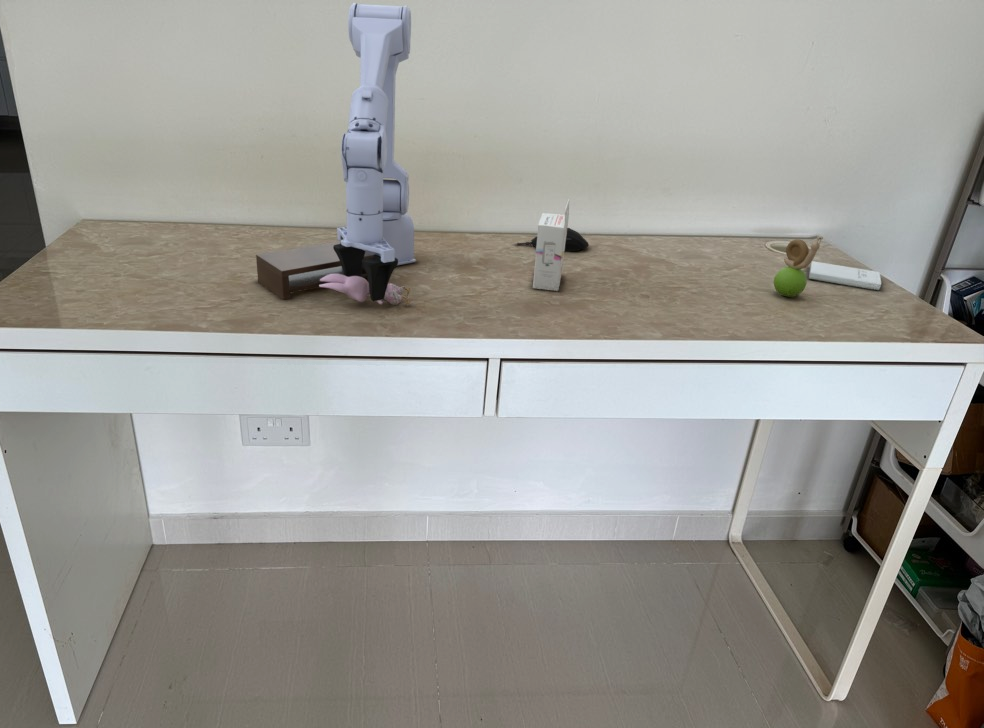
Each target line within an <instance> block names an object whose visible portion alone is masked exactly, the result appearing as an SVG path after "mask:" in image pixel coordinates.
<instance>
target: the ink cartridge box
mask: <svg viewBox="0 0 984 728" xmlns="http://www.w3.org/2000/svg"><path fill="white" fill-rule="evenodd" d="M569 218H570V198H568V199H567V202H566V205H565V208H564V214H559V213H547V212H543V213H542V214H541V216H540V219H539V221H538V224H537V235H536V237H537V246H536V247H535V259H534V268H533V269H534V270H533V281H532V289H535V290H545V291H556V292H559V289H560V286H561V285H560V284H561V278H562V274H563V273H562V272H563V265H564V257H565V252H566V251H565V243H566V235H567V228H568V225H569Z"/></svg>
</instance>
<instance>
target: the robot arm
mask: <svg viewBox="0 0 984 728" xmlns="http://www.w3.org/2000/svg"><path fill="white" fill-rule="evenodd" d="M347 18H348V19H347V27H348V29H347V30H348V31H347V32H348V38H349V42H350V43H351V46H352V49H353V51H354V53H355V56H356V57H358V58H360V64H359V65H360V66H359V67H360V72H359V75H360V76H359V87H357V88H355V90H353V92H352V93H351V98H350V104H349V105H350V107H349V113H348V123H347V130H346V131H347V132H346V133H343V134H342V137H341V142H340V157H341V164H342V171H343V181H344V182H345V200H346V201H345V205H346V207H345V208H346V226H344V227H343V226H342V227H336V239H337V240H338V241H341V242H340V244H336V245H334V246H333V249H334V251H335V252H336V254H337V256H338V258H339V260H340V262H341V265H342V268H343V272H344V275H345V276H347V277H351V276H359V277H361V274H362V264H363V265H364V267H365V270H366V273H367V277H368V281H367V282H368V284H369V293H370V294H369V298H370V301H371V302H377V301H379V300H381V301H383V300H385V299H384V296H385V293H386V289H387V285H388V284H389V282H390V279H391V276H392V275H393V272H394V270H395V269H396V267H397V266H402V265H408V264H413V263H416V262H417V259H416V258H415V226H414V225H415V224H414V221H413V219H412V217H411V216H410V214H408V211H409V205H410V183H409V177H410V176H409V174H408V171H407V170H406V168H404V167H403V166H402V165H400V164H399V163H398V162H397V161H396V160H395V126H396V125H395V124H396V115H395V114H396V78H397V77H396V75H397V71H398V68H399V64H400V63H401V62H404V61H406V60H409V56H410V55H409V54H411V37H412V11H411V9H410V8H409V6H408V5H403V6H402V5H401V6H399V5H382V4H380V5H379V4H361V3H357V2H353V3H352V4H351V5H350V7H349V8H348V17H347ZM365 251H366V252H368V253H370V254H372V255H373V258H369V259H364V255H365Z"/></svg>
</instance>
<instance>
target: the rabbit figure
mask: <svg viewBox="0 0 984 728" xmlns="http://www.w3.org/2000/svg"><path fill="white" fill-rule="evenodd" d="M320 281H324V282H332V283H325V284H321V285H319V287H318V288H326V289H330V290H334V291H336V292H339V293H342V294H346V295H347V296H348V298H349V299H352V300H355V301H356V302H360V303H363V302H365V301H366V299H367V298H368V296H370V293H369V282H368V281H367V280H366V279H364V278H362V277H359V276H351V277H347V276H345V275H342V274H329V275H327V276H325V277H323V278H321V279H320ZM410 289H411V287H409V288H407V287H406V286H398V285H396V284H394V283H388V285H387V289H386V293H385V296H384V299H383V300H384V301H386V302H387V303H389V304H390V305H395V306H397V305H399V304H400V303H401V301H402V300H403V299H405V300H406V306H407V307H408V306H409V303H410V298H411V296H410V293H411V292H410V291H411V290H410ZM404 290H405V291H407V292H406V296H407V297H406V296H405V295H402V293H403V292H404ZM383 300H379V301H376V302H377V303H378V304H379V305H383V303H384V302H383Z"/></svg>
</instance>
